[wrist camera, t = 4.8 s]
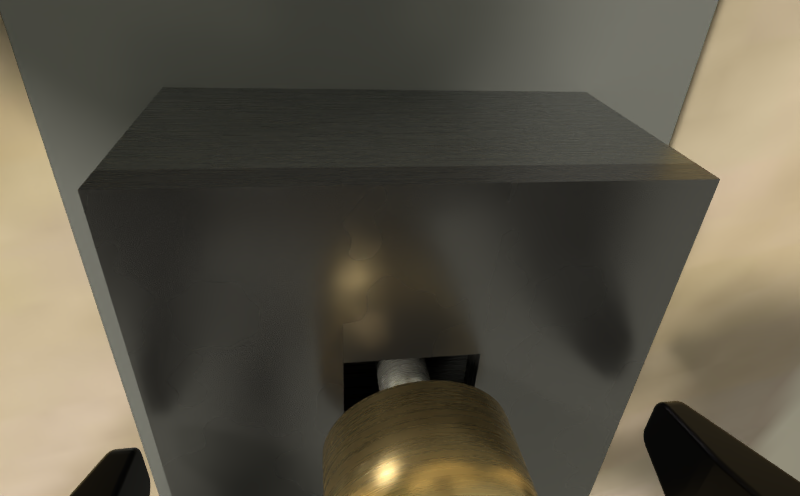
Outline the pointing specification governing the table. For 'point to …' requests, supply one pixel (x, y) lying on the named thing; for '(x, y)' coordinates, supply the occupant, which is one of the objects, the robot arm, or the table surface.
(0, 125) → the table surface
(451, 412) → the golden knob
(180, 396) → the grey knob block
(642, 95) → the slate board
